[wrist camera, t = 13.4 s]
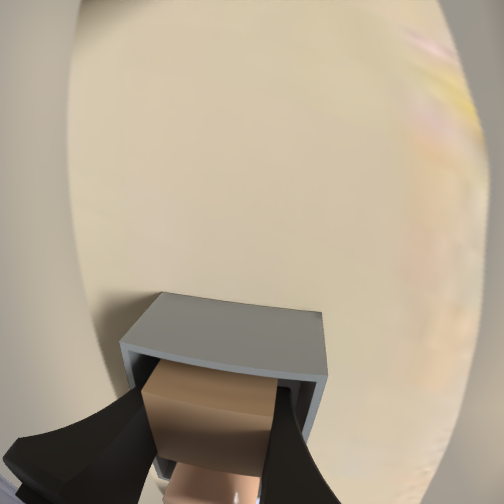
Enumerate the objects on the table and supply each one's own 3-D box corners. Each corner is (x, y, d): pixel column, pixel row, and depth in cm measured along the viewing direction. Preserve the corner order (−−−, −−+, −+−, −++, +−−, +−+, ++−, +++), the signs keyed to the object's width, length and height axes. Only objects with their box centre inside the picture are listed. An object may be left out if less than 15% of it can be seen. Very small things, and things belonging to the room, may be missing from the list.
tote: (288, 448, 16) (283, 501, 12) (178, 430, 17) (158, 477, 13) (321, 312, 12) (328, 375, 9) (162, 291, 13) (118, 341, 9)
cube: (271, 406, 13) (261, 477, 9) (187, 392, 13) (159, 456, 9) (282, 339, 11) (273, 416, 8) (182, 324, 12) (141, 390, 8)
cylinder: (265, 445, 15) (250, 531, 10) (199, 434, 16) (169, 515, 10) (271, 404, 14) (255, 506, 8) (194, 391, 14) (154, 485, 9)
